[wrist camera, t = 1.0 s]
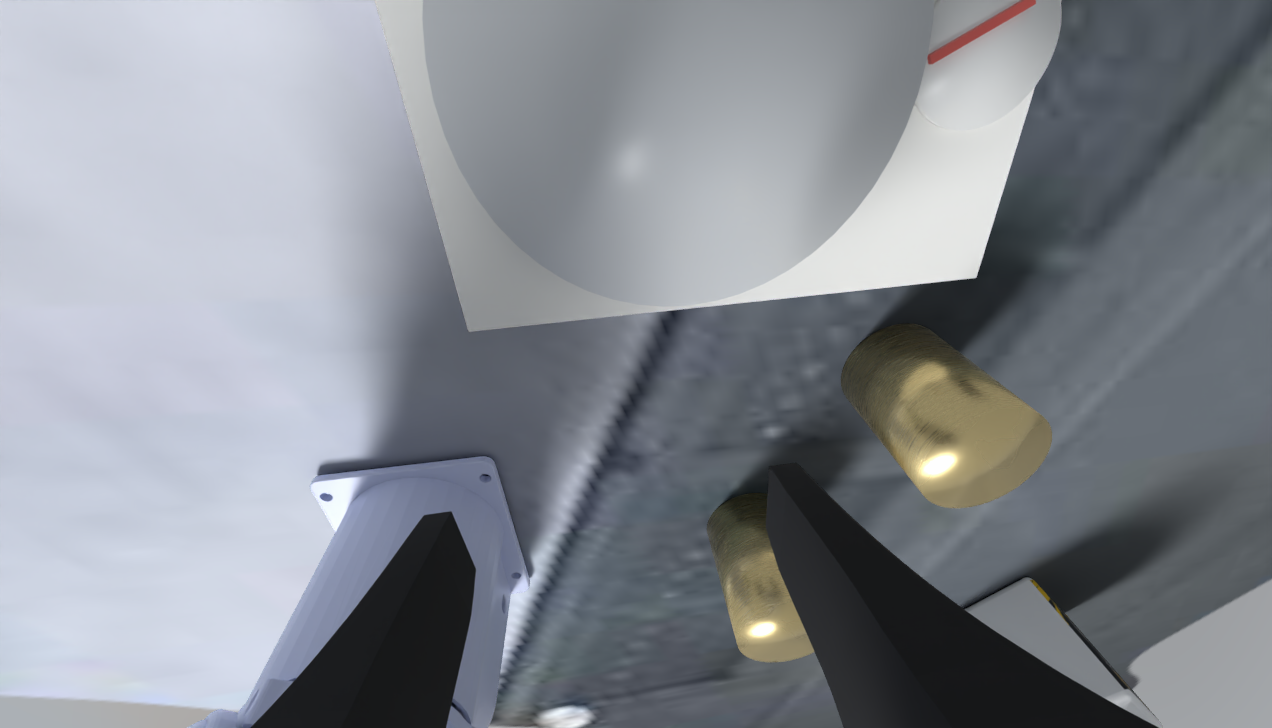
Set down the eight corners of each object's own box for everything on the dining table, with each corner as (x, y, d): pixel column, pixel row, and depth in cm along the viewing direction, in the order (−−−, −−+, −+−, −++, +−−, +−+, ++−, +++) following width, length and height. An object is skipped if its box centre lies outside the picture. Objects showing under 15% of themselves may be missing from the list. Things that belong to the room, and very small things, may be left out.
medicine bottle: (1065, 613, 34) (1269, 845, 24) (971, 659, 37) (1121, 890, 26) (1027, 573, 31) (1242, 819, 21) (927, 626, 34) (1078, 872, 23)
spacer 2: (928, 404, 23) (1024, 500, 18) (834, 415, 23) (905, 514, 18) (953, 318, 21) (1073, 400, 16) (849, 329, 21) (936, 416, 16)
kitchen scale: (941, 258, 19) (992, 286, 17) (478, 307, 19) (463, 343, 16) (1086, -295, 12) (1211, -383, 10) (332, -252, 11) (265, -335, 9)
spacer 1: (786, 545, 28) (832, 654, 23) (706, 556, 28) (735, 668, 22) (793, 488, 25) (847, 595, 20) (706, 498, 25) (739, 609, 20)
